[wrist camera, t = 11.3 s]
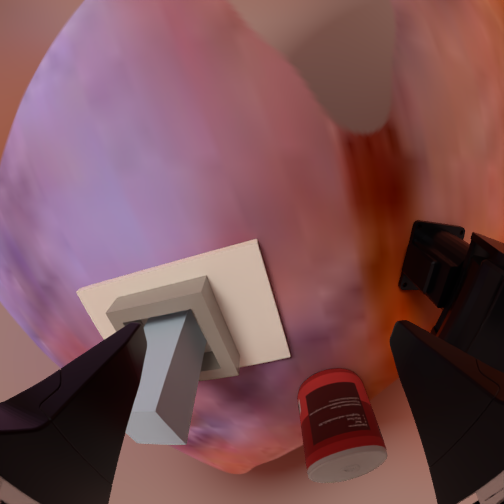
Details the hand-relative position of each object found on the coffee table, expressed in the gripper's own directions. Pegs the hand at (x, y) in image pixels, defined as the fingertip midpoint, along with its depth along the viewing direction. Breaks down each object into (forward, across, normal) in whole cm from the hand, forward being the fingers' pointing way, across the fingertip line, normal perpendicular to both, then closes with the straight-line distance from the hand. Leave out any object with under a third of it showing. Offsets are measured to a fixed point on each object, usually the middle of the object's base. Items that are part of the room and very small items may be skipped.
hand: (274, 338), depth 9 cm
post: (+12, +7, +10) cm, 17 cm away
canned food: (+13, -9, +19) cm, 25 cm away
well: (+13, +7, +10) cm, 18 cm away
